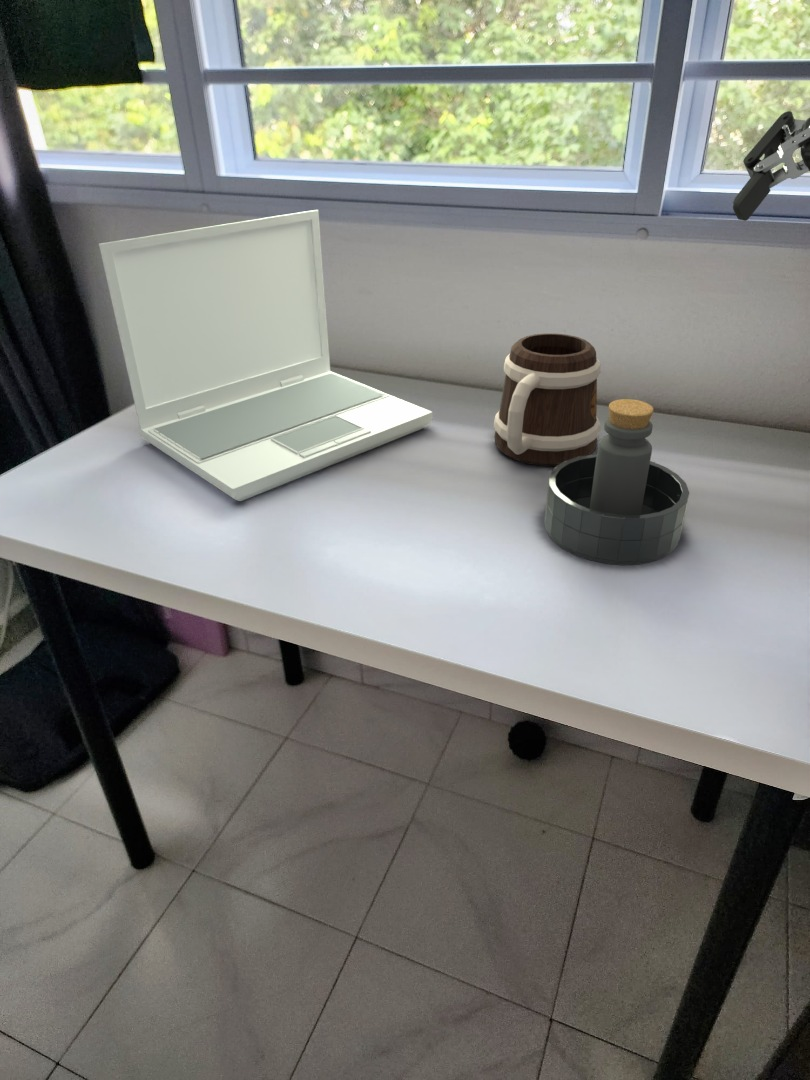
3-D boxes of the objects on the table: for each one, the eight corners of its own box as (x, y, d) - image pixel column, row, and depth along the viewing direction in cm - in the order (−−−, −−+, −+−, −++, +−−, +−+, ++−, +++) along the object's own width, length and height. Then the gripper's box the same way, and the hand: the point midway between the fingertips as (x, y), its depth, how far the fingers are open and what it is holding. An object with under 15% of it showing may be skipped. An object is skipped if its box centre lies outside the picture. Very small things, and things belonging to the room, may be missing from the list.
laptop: (235, 507, 95) (198, 276, 80) (141, 443, 112) (96, 243, 96) (432, 427, 115) (433, 230, 99) (327, 383, 131) (314, 209, 116)
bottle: (577, 519, 90) (592, 402, 82) (616, 508, 92) (634, 393, 84) (608, 542, 86) (627, 421, 78) (648, 530, 88) (671, 411, 80)
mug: (518, 417, 118) (525, 321, 109) (611, 437, 111) (626, 337, 103) (458, 467, 103) (460, 362, 95) (561, 494, 97) (573, 383, 88)
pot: (701, 523, 90) (711, 479, 87) (640, 582, 80) (649, 534, 77) (586, 484, 99) (591, 442, 96) (519, 532, 89) (522, 488, 86)
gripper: (814, 36, 69) (700, 182, 71) (976, 29, 58) (837, 202, 60) (834, 100, 74) (727, 236, 76) (987, 105, 63) (859, 263, 65)
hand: (776, 221), depth 68 cm, fingers open, 8 cm apart
